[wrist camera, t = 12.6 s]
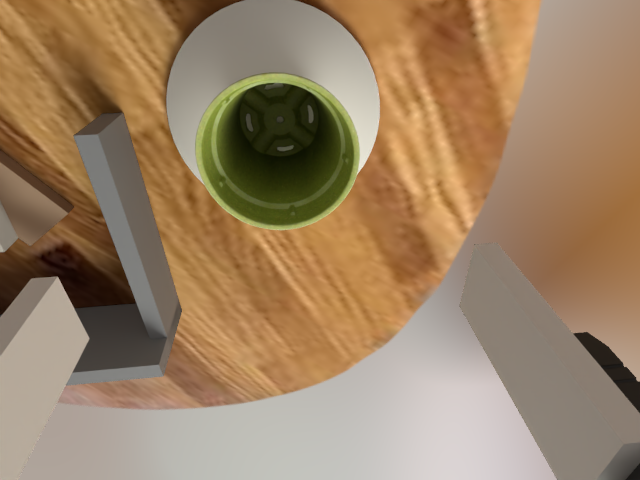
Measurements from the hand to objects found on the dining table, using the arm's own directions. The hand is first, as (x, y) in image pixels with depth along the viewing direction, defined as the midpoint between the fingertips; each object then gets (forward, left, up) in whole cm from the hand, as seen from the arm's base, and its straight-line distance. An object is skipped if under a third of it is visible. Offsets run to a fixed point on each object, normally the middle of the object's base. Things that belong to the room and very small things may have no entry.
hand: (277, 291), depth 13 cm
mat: (0, 0, -21) cm, 21 cm away
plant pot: (0, 0, -20) cm, 20 cm away
